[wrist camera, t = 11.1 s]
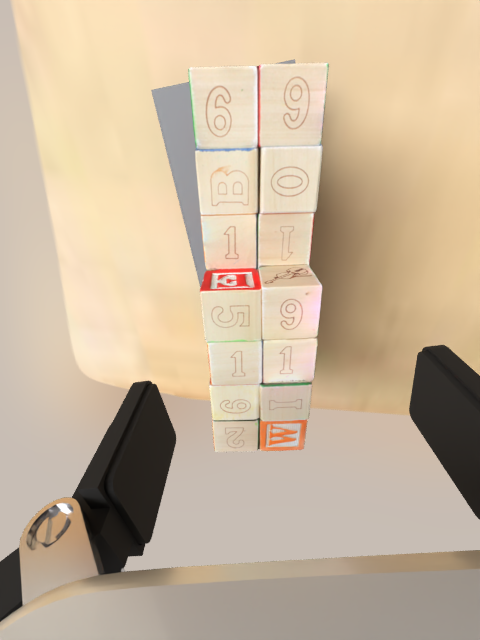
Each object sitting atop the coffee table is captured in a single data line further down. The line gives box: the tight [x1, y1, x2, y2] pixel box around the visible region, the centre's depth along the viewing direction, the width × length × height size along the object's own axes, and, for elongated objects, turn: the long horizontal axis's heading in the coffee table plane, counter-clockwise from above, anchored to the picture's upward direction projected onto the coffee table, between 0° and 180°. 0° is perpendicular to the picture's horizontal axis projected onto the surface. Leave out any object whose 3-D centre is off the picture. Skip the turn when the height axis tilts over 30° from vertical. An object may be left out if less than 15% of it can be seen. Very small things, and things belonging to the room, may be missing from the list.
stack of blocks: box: [188, 63, 329, 452], centre depth 20 cm, size 21×6×12 cm, turn 1°
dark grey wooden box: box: [151, 60, 295, 287], centre depth 28 cm, size 10×26×5 cm, turn 9°
